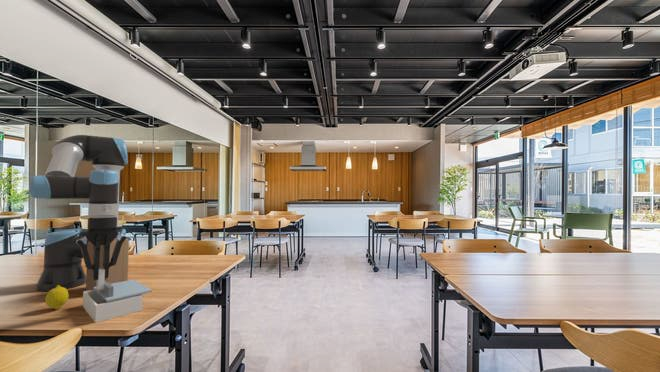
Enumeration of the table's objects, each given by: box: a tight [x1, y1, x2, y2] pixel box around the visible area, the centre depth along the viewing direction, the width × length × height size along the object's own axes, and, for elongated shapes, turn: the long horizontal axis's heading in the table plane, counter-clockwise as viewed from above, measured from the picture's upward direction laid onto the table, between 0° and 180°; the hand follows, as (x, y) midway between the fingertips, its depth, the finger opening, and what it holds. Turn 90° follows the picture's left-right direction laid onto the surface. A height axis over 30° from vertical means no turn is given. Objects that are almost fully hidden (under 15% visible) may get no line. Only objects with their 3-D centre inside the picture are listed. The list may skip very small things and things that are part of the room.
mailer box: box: [82, 290, 144, 324], centre depth 94 cm, size 19×12×5 cm, turn 50°
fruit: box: [44, 285, 70, 310], centre depth 93 cm, size 6×6×8 cm
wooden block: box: [85, 238, 130, 291], centre depth 114 cm, size 10×10×20 cm
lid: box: [93, 279, 153, 302], centre depth 96 cm, size 19×12×4 cm, turn 50°
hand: (100, 289), depth 91 cm, fingers closed
